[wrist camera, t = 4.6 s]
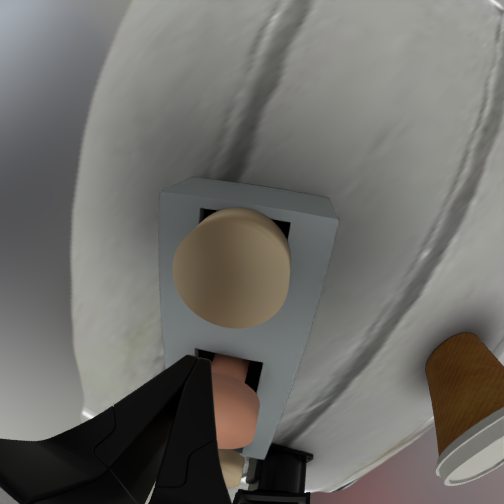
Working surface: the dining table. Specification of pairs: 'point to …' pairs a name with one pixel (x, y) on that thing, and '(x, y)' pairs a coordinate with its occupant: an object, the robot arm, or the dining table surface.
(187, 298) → the knob
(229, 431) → the knob middle
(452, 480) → the disposable coffee cup
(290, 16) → the dining table surface
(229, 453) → the knob
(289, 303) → the grey peg holder block
